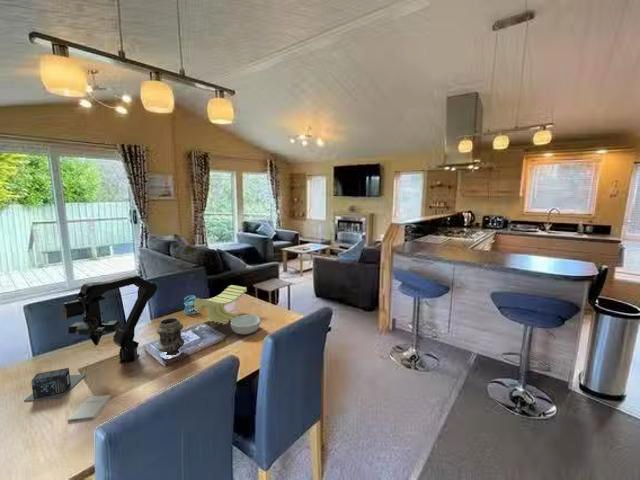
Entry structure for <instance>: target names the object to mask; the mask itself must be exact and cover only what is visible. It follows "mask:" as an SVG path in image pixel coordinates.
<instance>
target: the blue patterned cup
mask: <svg viewBox="0 0 640 480" xmlns="http://www.w3.org/2000/svg"><path fill="white" fill-rule="evenodd" d="M196 298H197V297H196V296H195V295H193V294H191V295H187V296H185V297H184V298H183V299H184V302H183V305H184V311H183V314H184V315H185V316H188V315H189V316H190V314H191V315H196V313H197V314H200V310H196V309H194V308H192V307H193V306H194V300H195V299H196ZM191 308H192V309H191ZM193 310H194V311H193ZM191 311H192V312H191ZM196 311H197V312H196Z"/></svg>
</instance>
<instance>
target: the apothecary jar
mask: <svg viewBox="0 0 640 480" xmlns="http://www.w3.org/2000/svg"><path fill="white" fill-rule="evenodd" d="M179 320H180V319H179V318H178V317H168V318H167V317H166V318H163V319H162V320H160V321H159V325H158V326H157V327H156V330H155V331H156V333H157V334H158V335H159V342H158V343H157V350H158V351H160V352H162V353H164V352H167V354H166V355H176V354H177V353H179V351H178V349H181V348H182V347H183V346H184V344H185V340H184V338H183V337H182V334H181V333H182V332H181V331H182V329H183V323H182V322H180V321H179Z"/></svg>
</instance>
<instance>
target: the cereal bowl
mask: <svg viewBox="0 0 640 480" xmlns="http://www.w3.org/2000/svg"><path fill="white" fill-rule="evenodd" d="M260 325H261V318H260V317H259V316H257V315H254V314H242V315H238V317H235V318H233V319H232V320H231V322H230V328H231V329H232V331H233V332H234V333H236V334H238V335H239V334H240V335H243V336H244V335H245V336H246V335H250V334H252V333H254V332H256V331H257V330H258V329H259V328H260Z"/></svg>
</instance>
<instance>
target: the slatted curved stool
mask: <svg viewBox="0 0 640 480" xmlns="http://www.w3.org/2000/svg"><path fill="white" fill-rule="evenodd" d="M246 292H248V289H247V286H240V285H234V284H231V285H228V286H227V287H226V288H224V290H223V291H221V293H220V294H217V295H216V296H214V297H211V298H206V299H205V298H199V297H196V299H195V300H194V299H193V301H194V308H193V309H196V310H197V311H201V310H202V309H205V310H206V316H207V319H208V321H209V322H212V321H214V322H213V323H216V322H219V323H218V324H220V323H223V324H222V325H224V324H225V325H227V324H229V323H230V322H229V321H231V320H232V319H233V318H235V317H238V316H239V315H238V314H235V313H232V312H229V311H227V310H226V309H225V306H227V305H229V304H233V302H236V301H239V298H242V296H243V295H245V293H246ZM228 322H229V323H228ZM226 323H227V324H226Z"/></svg>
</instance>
